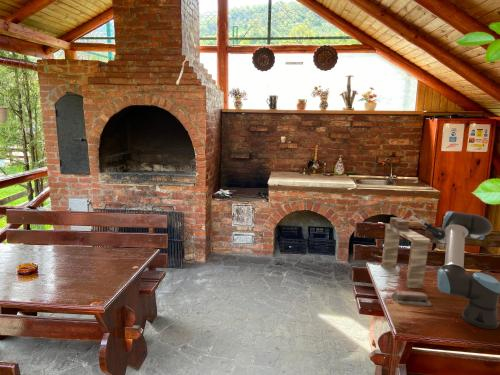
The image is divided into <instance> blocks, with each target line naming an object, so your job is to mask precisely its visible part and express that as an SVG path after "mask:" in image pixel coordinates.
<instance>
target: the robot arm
mask: <svg viewBox="0 0 500 375" xmlns="http://www.w3.org/2000/svg"><path fill="white" fill-rule="evenodd" d="M410 220H411V221H419V223H420V224H422V225H423V226H421V227H422V228H424V229H425V230H426V231H427V232H429V233H431V235H432V237H433V239H435V240H436V241H439V243H440V244H443V245H444V246H445V259H444V265H442V266H441V267H440V268H438V269H437V274H436V278H437V279H436V284H437V285H436V286H437V289H438V291H439V292H440V293H443V294H446V295H451V296H457V297H460V298H464V299H468V302H467V304H466V305H465V307H464V309H463V310H462V314H461V318H462V319H463V320H464V321H465V322H466V323H468V324H471V326H474V327H476V328H477V327H478V328H480V329H481V328H482V329H484V330H485V329H486V330H496V329H497V328H498V327H499V318H498V313H497V309H498V303H499V298H500V281H499V280H498V279H497V278H495V277H493V276H491V275H489V274H487V273H483V272H473V274H472V275H471V274H467V270H466V268H465V267H464V265H465V263H464V260H465V244H466V242H465V241H466V239H467V238H468V239H474V240H478V241H479V240H481V241H482V240H483V241H484V239H485V236H487V235H490V233H491V232H492V231H493V225H492V223H491V221H489V219H487V218H486V217H484V216H482V215H478V214H473V213H465V212H458V211H452V210H451V211H450V210H448V211H446V212H445V215H444V218H443V222H442V228H440V227H435V226H433V225H432V223H428V222H427V221H426V220H424V219H422V218H420V219H419V218H418V217H417V216H415V215H411V216H410Z"/></svg>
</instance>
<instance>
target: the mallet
mask: <svg viewBox="0 0 500 375" xmlns="http://www.w3.org/2000/svg"><path fill="white" fill-rule="evenodd" d="M388 224H389V225H391V226H393V227H395V228H397V229H409V226H411V227H413V226H414V227H415V226H416V227H420V226H421V227H422V226H423V225H422V224H420V223H419V221H413V220H407V219H405V218H402V217H396V216H395V217H394V216H393V217H390V220H389V223H388Z"/></svg>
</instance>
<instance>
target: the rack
mask: <svg viewBox="0 0 500 375" xmlns="http://www.w3.org/2000/svg"><path fill="white" fill-rule="evenodd" d="M389 224H390V223H385V230H384V238H383V250H382V256H381V264H380V267H381V268H383V269H394V268H397V260H398V253H399V247H400V246H399V245H400V237H403V238H404V239H406V240H408V241H409V242H411V243H410V251H409V259H408V267H407V272H406V273H407V274H406V281H405V286H406V287H407V288H408V289H412V288H413V289H417V288H419V289H421V288H423V287H424V286H423V285H424V280H425V273H426V266H427V260H428V252H429V251H428V250H429V245H430V242H431V239H430V238H428V237H427V236H424V235H422V234H420V233H419V232H416V231H414V230H412V229H410V228H408V229H397V228H395V227H393V226H391V225H389Z"/></svg>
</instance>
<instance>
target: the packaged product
mask: <svg viewBox="0 0 500 375" xmlns="http://www.w3.org/2000/svg"><path fill="white" fill-rule="evenodd" d="M391 297H392V298H393V297H394V298H393V299H394V300H395V302H396V303H397V304H398V303H402V305H412V306H425V307H426V306H428V307H429V306H430V307H431V306H432V303H431V301H429V297H428V295H427V294H426V293H424V292H421V291H409V290H400V289H399V290H397V289H396V290H394V292H393V293H391Z"/></svg>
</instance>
